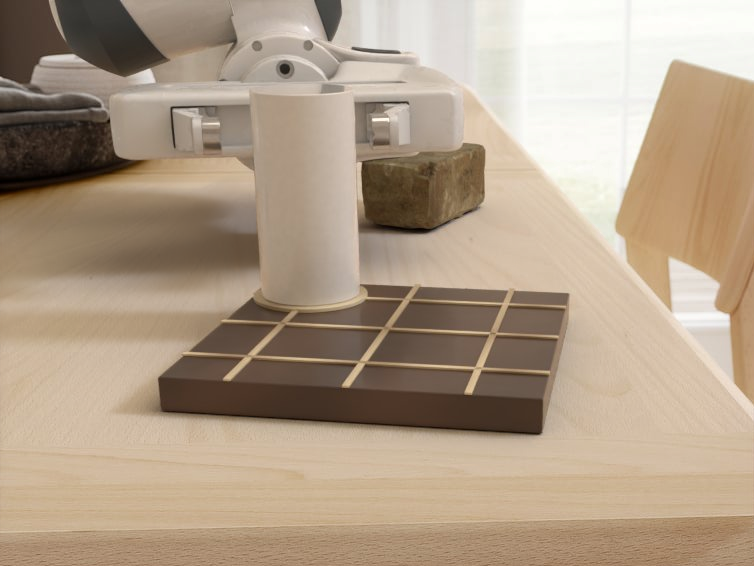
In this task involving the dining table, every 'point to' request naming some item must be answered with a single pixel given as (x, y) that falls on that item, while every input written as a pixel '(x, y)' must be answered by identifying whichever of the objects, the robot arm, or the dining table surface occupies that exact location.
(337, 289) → the tall white cylinder
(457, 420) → the grid board
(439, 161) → the stone block
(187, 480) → the dining table surface
